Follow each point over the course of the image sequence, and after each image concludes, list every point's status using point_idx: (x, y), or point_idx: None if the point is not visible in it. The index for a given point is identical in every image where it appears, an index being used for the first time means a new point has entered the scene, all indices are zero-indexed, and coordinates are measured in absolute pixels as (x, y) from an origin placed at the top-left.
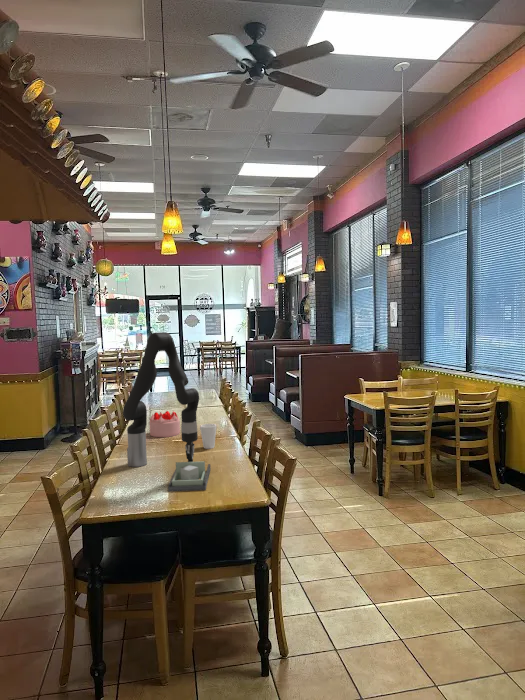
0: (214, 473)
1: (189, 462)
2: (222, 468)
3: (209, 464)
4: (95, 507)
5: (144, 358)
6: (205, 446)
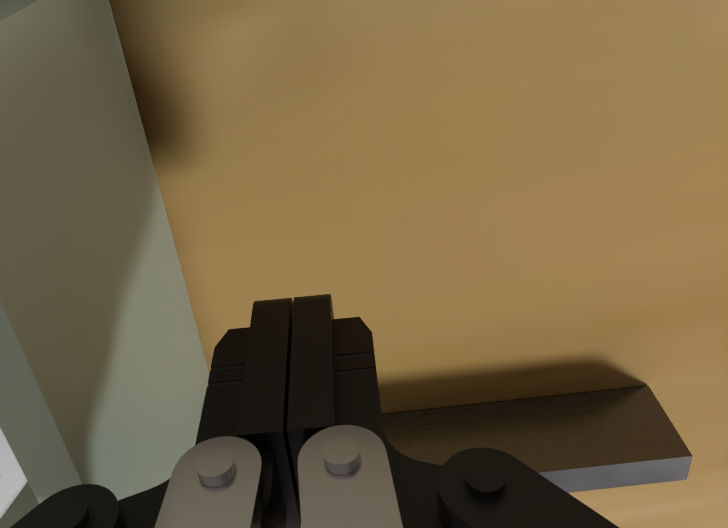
0: None
1: (32, 485)
2: (671, 515)
3: (666, 473)
4: None
5: None
6: None
